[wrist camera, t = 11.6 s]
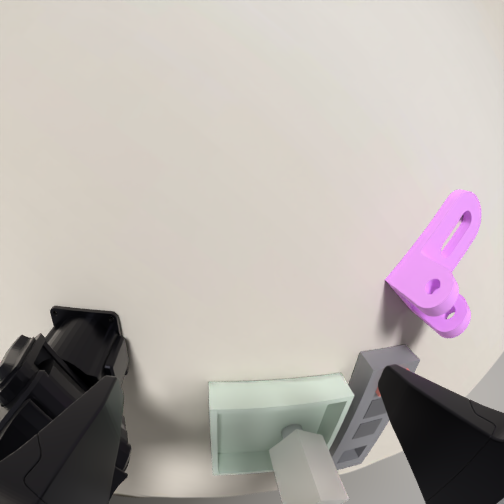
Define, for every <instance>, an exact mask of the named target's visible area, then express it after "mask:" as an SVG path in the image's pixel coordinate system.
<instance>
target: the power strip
mask: <svg viewBox="0 0 504 504" xmlns="http://www.w3.org/2000/svg"><path fill="white" fill-rule="evenodd" d="M419 361H420V359H419V358H418V357H417V356H416V355H415V354H414V353H413V352H412V351H411V350H410V349H409V347H408V346H407V345H406V344H404V345H399V346H393V347H387V348H381V349H375V350H369V351H362V352H360V353H359V356H358V359H357V362H356V365H355V368H354V371H353V374H352V377H351V379H350V382H349V385H348V386H349V387H350V389H351V391H352V392H353V394H354V398H353V400H352V403H351V405H350V407H349V409H348V412H347V414H346V416H345V418H344V421H343V423H342V425H341V427H340V429H339V431H338V433H337V435H336V437H335V439H334V441H333V443H332V445H331V447H330V449H329V452H330V455H331V457H332V459H333V462H334V464H335V466H336V469H337V470H339V469H343V468H347V467H351V466H354V465H358V464H361V463H362V462H363V460H364V459H365V457H366V456H367V454H368V453H369V451H370V450H371V448H372V447H373V445H374V444H375V442H376V441H377V439H378V438H379V436H380V435H381V433H382V431H383V430H384V428H385V426H386V425H387V423H388V421H389V418H388V415H387V412H386V409H385V406H384V403H383V400H382V398H381V395H380V392H379V389H378V381H379V379H380V376H381V374H382V372H383V369H384V367H385V366H387V365H392V364H397V365H399V366H401V367H403V368H405V369H407V370H409V371H411V372H413V373H414V372H415V370H416V368H417V366H418V364H419Z"/></svg>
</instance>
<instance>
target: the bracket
mask: <svg viewBox="0 0 504 504" xmlns="http://www.w3.org/2000/svg"><path fill="white" fill-rule="evenodd" d="M462 215H463V220H462V223H461V224H460V226H459V227H458V229H457V230H456V232H455V233H454V235H453V236H452V238H451V239H450V241H449V242H448V243H447V245H446V246H445V248H444V249H443V250H442V252H441V248H442V245H443V243H444V242H445V240H446V239H447V237H448V236H449V235H450V233H451V232H452V230H453V229H454V227H455V226H456V224H457V223H458V221H459V220H460V218H461V217H462ZM480 223H481V206H480V202H479V200H478V198H477V196H476V195H475V194H474V193H472V192H469V191H465V190H460V189H459V190H455V191H453V192H452V193H451V194H450V195H449V196H448V198H447V199H446V201H445V202H444V204H443V205H442V206H441V208H440V209H439V211H438V212H437V214H436V215H435V216H434V218H433V219H432V221H431V222H430V223H429V225H428V226H427V227H426V229H425V230H424V231H423V233H422V234H421V235H420V237H419V238H418V239H417V241H416V242H415V243H414V245H413V246H412V247H411V248H410V250H409V251H408V252H407V254H406V255H405V256H404V257H403V258H402V260H401V261H400V262H399V263H398V265H397V266H396V267H395V268H394V269H393V271H392V272H391V273H390V274H389V275H388V277H387V278H386V279H385V281H386V282H387V283H388V284H389V285H390V286H391V288H392V289H393V290H394V291H395V292H396V293H397V294H398V296H399V297H400V298H401V299H402V300H403V302H404V303H405V304H406V305H407V306H408V308H409V309H410V310H411V311H412V312H414V313H415V314H416V315H417V316H418V317H419V318H421V319H422V320H423V321H424V322H425V323H427V324H428V325H429V326H430V327H431V328H432V329H434V330H435V331H436V332H437V333H438V334H439V335H440V336H442V337H444V338H453V337H456V336H458V335H460V334H461V333H462V332H463V331H464V330H465V329H466V328H467V326H468V324H469V322H470V318H471V312H470V309H469V306H468V304H467V302H466V300H465V298H464V297H463V296H461V295H460V294H459V287H458V284H457V282H456V280H455V278H454V276H453V274H452V271H453V270H454V268H455V267H456V266H457V264H458V263H459V261H460V260H461V258H462V257H463V255H464V254H465V252H466V251H467V249H468V248H469V246H470V245H471V243H472V242H473V240H474V239H475V237H476V235H477V233H478V230H479V227H480ZM453 312H455V314H454V316H453V317H452V318H450V319H447V317H448V315H449V314H451V313H453Z"/></svg>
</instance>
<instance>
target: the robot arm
mask: <svg viewBox="0 0 504 504" xmlns="http://www.w3.org/2000/svg"><path fill="white" fill-rule="evenodd" d="M55 311H56V312H57V313H55ZM50 313H51V317H52V321H53V325H54V327H53V328H52V330H51V331H50V332H49V333H48V335H47V336H46V337H44V336H43V335H42V334H41V333H40V334H39V335H38V336H36V337H35V338H34V337H33V338H31V337H30V338H28V337H26V336H23V335H21V336H20V337H18V339H17V340H16V341H15V342H14V343H13V345H12V346H11V347H10V348H9V350H8V351H7V352H6V354H5V356H4V358H3V360H2V361H1V363H0V504H108V503H109V500H110V498H111V496H112V494H113V493H114V491H115V490H116V488H117V487H118V486H119V485H120V484H121V483H122V482H123V481H124V480H125V479H126V478H127V476H128V474H127V473H125V470H126V468H127V466H128V463H129V458H130V454H131V445H130V444H128V438H127V431H126V427H125V419H124V416H123V415H122V413H123V404H124V395H123V391H122V388H121V385H122V382H123V378H124V375H127V373H128V363H129V358H128V353H127V348H126V342H125V338H124V337H123V336H121V330H120V324H119V318H118V315H117V314H116V313H115V312H112V311H101V310H90V309H80V308H70V307H61V306H53V307H52V308H51V310H50ZM110 317H113V318H114V319H111V318H110ZM378 389H379V392H380V395H381V398H382V400H383V403H384V406H385V409H386V412H387V415H388V418H389V420H390V422H391V425H392V427H393V429H394V431H395V433H396V436H397V438H398V440H399V442H400V444H401V446H402V449H403V451H404V453H405V455H406V457H407V460H408V462H409V464H410V466H411V469H412V471H413V473H414V476H415V478H416V480H417V483H418V485H419V488H420V490H421V493H422V495H423V498H424V500H425V503H426V504H504V413H502V412H499V411H496V410H494V409H491V408H488V407H485V406H483V405H480V404H479V403H476V402H474V401H472V400H469V399H467V398H465V397H463V396H461V395H459V394H457V393H454V392H452V391H450V390H448V389H446V388H444V387H442V386H440V385H438V384H435V383H433V382H431V381H429V380H427V379H425V378H423V377H421V376H419V375H417V374H415V373H413V372H411V371H409V370H407V369H405V368H403V367H401V366H399V365H397V364H392V365H387V366H385V367H384V369H383V372H382V374H381V376H380V379H379V381H378Z"/></svg>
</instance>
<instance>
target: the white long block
mask: <svg viewBox="0 0 504 504" xmlns="http://www.w3.org/2000/svg"><path fill="white" fill-rule="evenodd" d="M281 434H282V437H283V440H282V441H280V442H279V443H278V444H276V445H275V446H274V447H272V448H271V449H270V450H269V453H270V458H271V462H272V466H273V470H274V474H275V478H276V482H277V486H278V490H279V493H280V498H281V502H282V504H342V503H343V502H345V501H347V500H349V497H348V495H347V493H346V490H345V488H344V486H343V483H342V481H341V479H340V476H339V474H338V471H337V469H336V466H335V464H334V462H333V459H332V457H331V455H330V452H329V450H328V447H327V445H326V443H325V440H324V438H323V435H320V434H315V433H311V432H307V431H303V429H302V426H301V425H299V424H291V425H288V426H286V427H284V428H283V429H282V431H281Z"/></svg>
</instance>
